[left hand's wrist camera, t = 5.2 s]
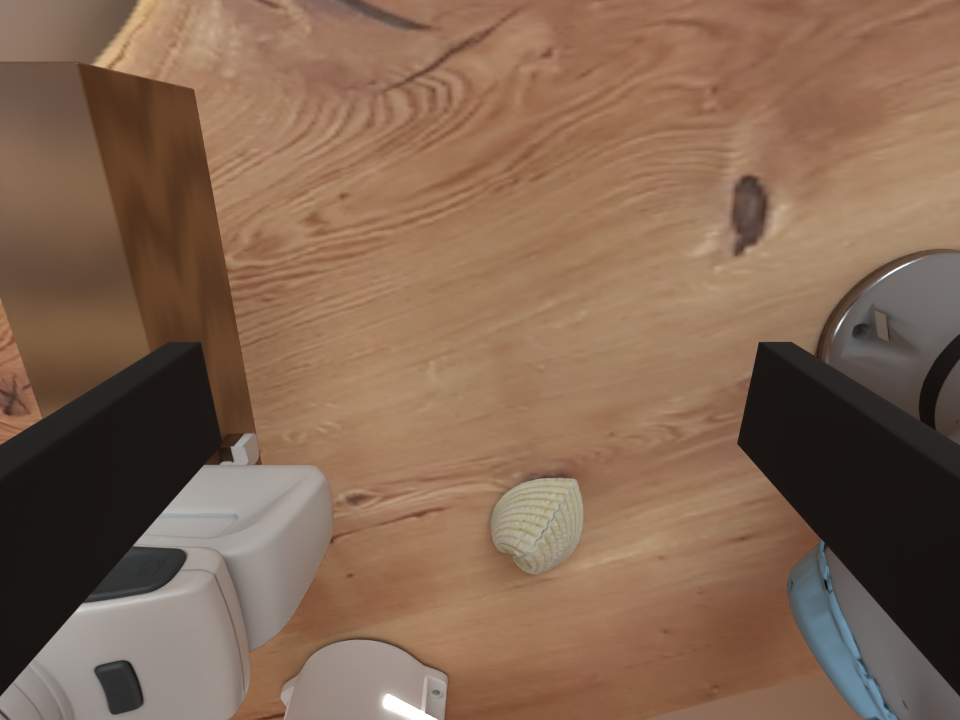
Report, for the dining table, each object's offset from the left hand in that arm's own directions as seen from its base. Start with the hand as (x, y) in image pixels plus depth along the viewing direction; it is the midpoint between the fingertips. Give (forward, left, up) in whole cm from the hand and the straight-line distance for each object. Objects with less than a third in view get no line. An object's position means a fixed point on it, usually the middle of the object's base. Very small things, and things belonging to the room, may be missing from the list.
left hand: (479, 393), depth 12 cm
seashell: (-26, +9, -29) cm, 40 cm away
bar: (+6, +17, -18) cm, 25 cm away
